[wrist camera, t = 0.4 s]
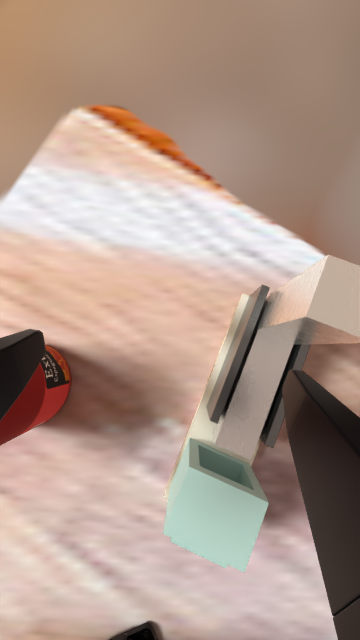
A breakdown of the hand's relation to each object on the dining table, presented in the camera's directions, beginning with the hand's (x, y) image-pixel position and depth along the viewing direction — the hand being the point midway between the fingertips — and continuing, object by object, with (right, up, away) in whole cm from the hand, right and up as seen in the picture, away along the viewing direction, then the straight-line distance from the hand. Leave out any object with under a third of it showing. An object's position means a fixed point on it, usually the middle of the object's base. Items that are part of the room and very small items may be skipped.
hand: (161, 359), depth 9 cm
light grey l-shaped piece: (+7, -3, +12) cm, 14 cm away
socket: (+3, -12, +13) cm, 18 cm away
